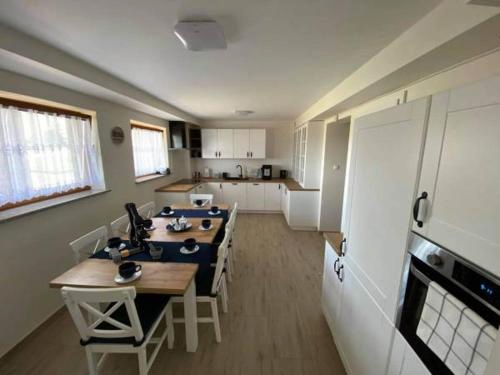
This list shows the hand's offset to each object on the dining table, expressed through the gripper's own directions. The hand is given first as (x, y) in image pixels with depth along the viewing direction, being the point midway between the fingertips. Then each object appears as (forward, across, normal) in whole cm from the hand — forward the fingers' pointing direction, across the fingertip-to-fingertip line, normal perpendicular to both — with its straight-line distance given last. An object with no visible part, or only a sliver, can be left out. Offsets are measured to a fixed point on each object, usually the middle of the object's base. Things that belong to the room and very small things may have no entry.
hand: (141, 249), depth 183 cm
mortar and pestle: (+2, -20, -6) cm, 21 cm away
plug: (+1, 0, +7) cm, 7 cm away
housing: (+1, 0, +20) cm, 20 cm away
